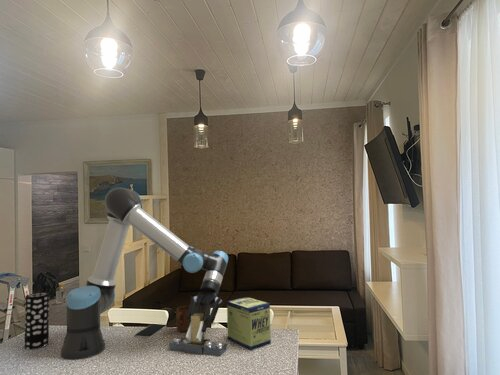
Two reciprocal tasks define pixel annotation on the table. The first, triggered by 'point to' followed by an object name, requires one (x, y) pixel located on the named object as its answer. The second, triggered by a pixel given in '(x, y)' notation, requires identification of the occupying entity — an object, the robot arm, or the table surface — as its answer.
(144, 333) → the smartphone
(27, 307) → the white-spotted black cylinder
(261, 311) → the protein box
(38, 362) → the table surface
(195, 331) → the gold block
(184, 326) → the mug
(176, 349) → the grey link plate
